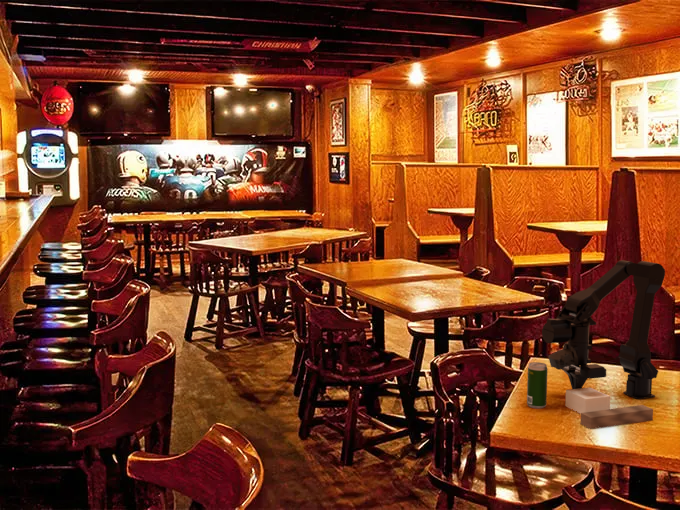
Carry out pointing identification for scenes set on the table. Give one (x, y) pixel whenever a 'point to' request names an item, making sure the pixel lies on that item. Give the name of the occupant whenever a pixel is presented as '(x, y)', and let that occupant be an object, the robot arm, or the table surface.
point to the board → (616, 416)
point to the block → (587, 400)
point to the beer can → (537, 385)
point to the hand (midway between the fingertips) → (575, 394)
